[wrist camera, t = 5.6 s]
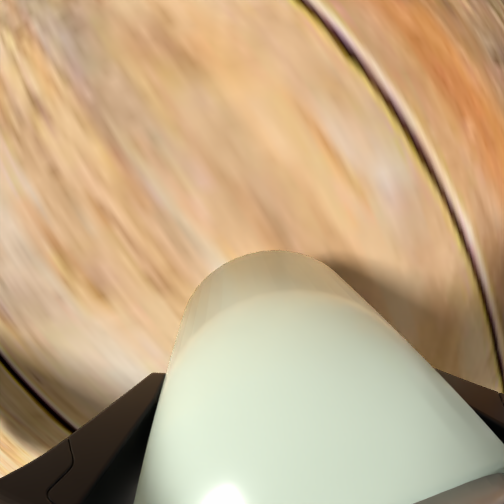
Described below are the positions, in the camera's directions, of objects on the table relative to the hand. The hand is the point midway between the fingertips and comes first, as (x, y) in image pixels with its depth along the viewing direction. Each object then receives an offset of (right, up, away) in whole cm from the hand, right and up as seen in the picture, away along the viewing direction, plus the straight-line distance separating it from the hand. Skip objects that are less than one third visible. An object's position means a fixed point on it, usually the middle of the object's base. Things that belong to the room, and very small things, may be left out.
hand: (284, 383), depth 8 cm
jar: (0, +1, +2) cm, 2 cm away
